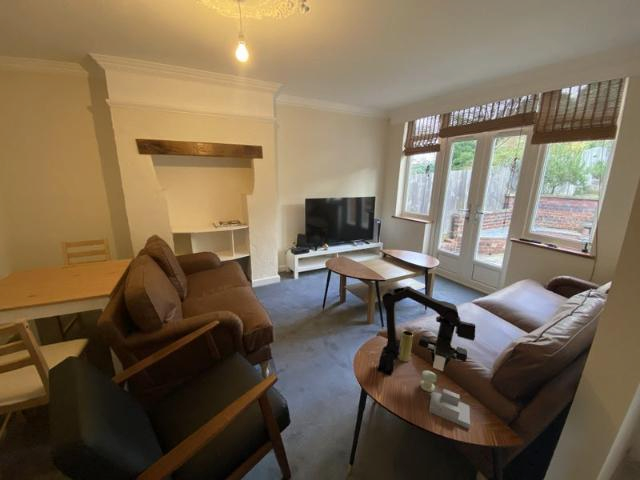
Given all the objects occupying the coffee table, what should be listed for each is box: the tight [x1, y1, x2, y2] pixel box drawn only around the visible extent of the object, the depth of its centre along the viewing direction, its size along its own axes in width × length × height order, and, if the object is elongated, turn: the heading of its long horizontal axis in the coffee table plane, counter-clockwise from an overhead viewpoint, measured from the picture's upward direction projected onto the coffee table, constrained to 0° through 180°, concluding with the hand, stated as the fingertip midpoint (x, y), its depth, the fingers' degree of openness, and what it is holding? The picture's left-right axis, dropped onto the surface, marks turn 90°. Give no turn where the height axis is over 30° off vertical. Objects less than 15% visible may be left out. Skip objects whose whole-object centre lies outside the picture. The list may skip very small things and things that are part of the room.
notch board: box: [428, 388, 471, 430], centre depth 104 cm, size 14×10×5 cm
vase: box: [397, 330, 414, 363], centre depth 134 cm, size 6×6×14 cm
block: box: [432, 354, 446, 372], centre depth 115 cm, size 4×4×6 cm
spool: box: [419, 370, 438, 393], centre depth 116 cm, size 6×6×6 cm
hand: (438, 364), depth 116 cm, fingers closed on block, 4 cm apart
